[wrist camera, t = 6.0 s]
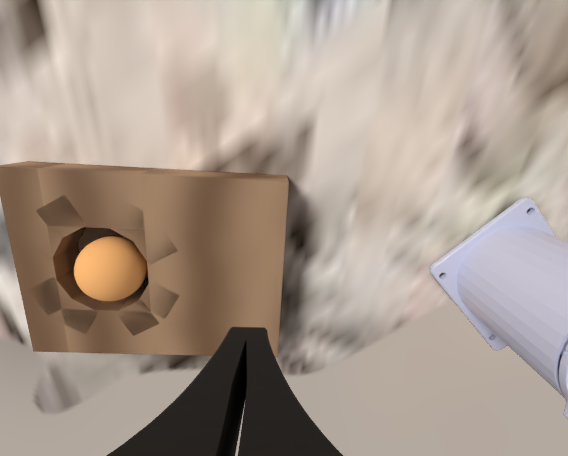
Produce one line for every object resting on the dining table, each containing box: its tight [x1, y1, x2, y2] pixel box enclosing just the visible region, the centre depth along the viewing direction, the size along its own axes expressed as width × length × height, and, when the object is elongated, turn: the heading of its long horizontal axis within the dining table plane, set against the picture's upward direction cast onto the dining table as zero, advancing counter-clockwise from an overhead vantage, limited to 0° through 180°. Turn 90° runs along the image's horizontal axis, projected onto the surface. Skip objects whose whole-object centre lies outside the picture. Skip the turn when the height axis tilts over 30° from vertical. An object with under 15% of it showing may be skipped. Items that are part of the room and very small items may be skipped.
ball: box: [74, 236, 147, 301], centre depth 20 cm, size 4×4×4 cm
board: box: [0, 161, 289, 357], centre depth 21 cm, size 16×12×2 cm
